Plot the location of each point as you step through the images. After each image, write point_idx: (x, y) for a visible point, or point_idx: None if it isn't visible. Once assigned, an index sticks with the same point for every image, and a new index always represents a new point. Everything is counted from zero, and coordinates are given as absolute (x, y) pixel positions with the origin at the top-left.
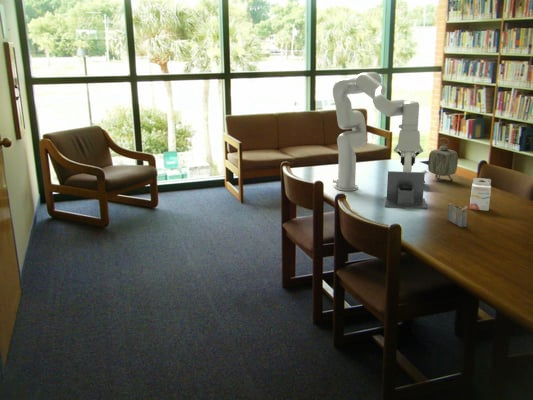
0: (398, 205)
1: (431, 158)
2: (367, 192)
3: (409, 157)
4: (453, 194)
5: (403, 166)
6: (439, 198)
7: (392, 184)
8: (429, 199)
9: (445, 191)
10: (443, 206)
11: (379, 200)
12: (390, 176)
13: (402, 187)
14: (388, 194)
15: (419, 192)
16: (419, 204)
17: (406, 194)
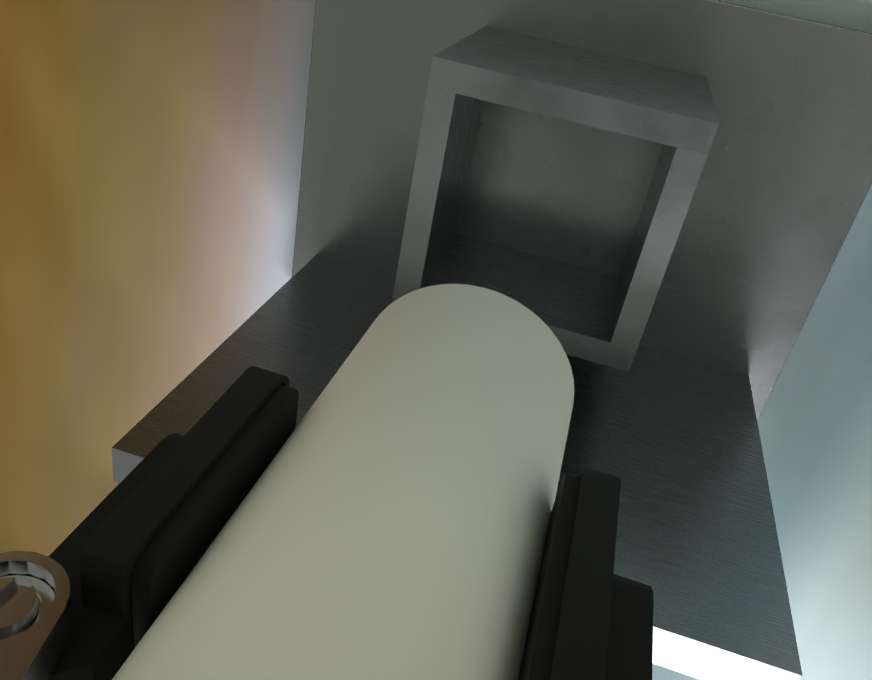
0: (714, 16)
1: None
2: (851, 658)
3: (263, 604)
4: (19, 426)
5: (557, 473)
6: (143, 332)
7: (686, 472)
8: (242, 315)
9: (79, 516)
10: (125, 30)
11: (849, 365)
12: (735, 580)
13: (563, 329)
14: (730, 396)
15: (324, 305)
16: (397, 51)
17: (572, 76)
